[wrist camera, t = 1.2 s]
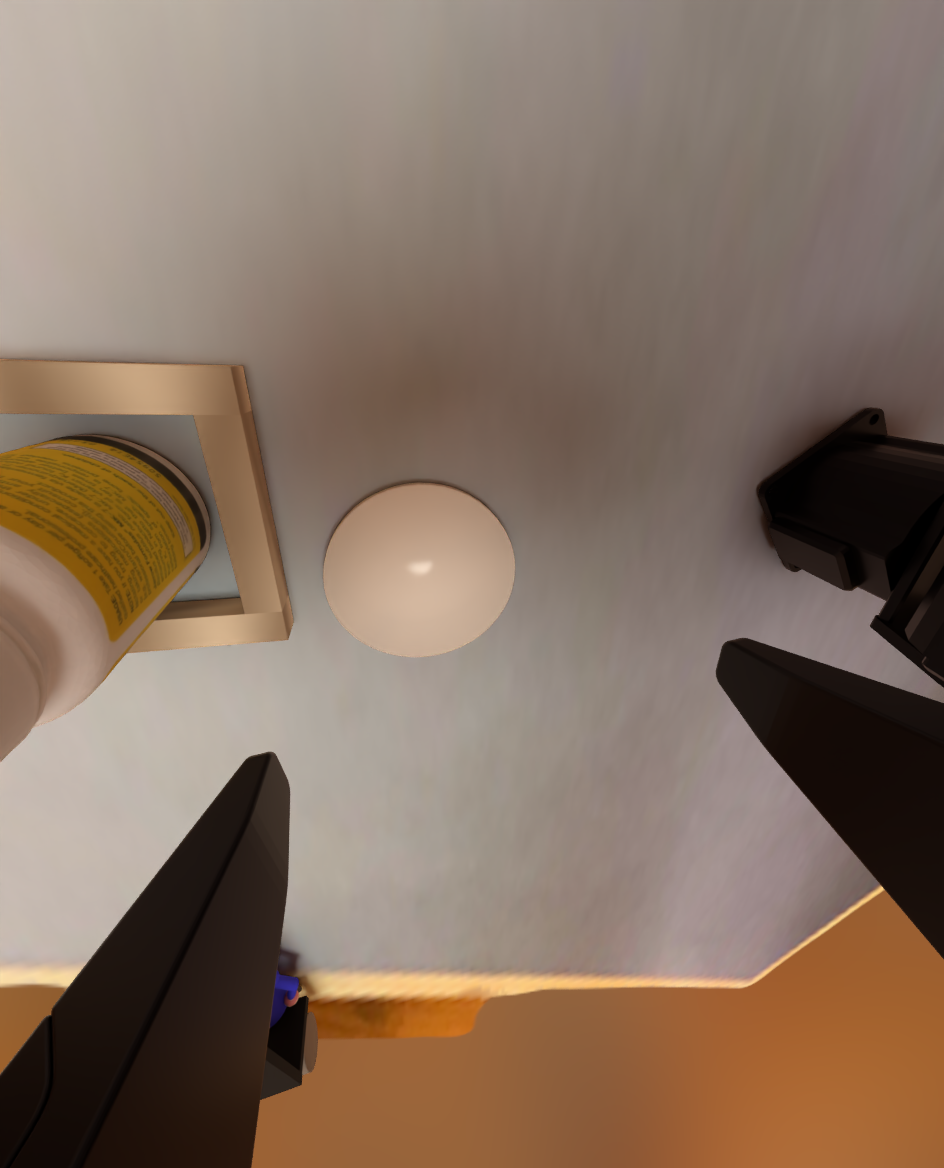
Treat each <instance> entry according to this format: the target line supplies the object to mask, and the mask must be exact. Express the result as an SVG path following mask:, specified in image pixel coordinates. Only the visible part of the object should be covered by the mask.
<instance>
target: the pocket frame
mask: <svg viewBox="0 0 944 1168" xmlns="http://www.w3.org/2000/svg"><path fill="white" fill-rule="evenodd" d="M0 413H11V414H146V415H193V416H194V420H195V424H196V428H197V432H198V436H199V440H200V443H201V447H202V451H203V455H204V459H205V463H206V466H207V470H208V474H209V478H210V482H211V486H212V490H213V493H214V497H215V501H216V505H217V509H218V513H219V516H220V520H221V524H222V528H223V532H224V536H225V540H226V543H227V547H228V551H229V555H230V559H231V563H232V566H233V570H234V574H235V578H236V582H237V586H238V590H239V593H240V597H241V598H231V599H216V600H200V601H185V602H170V603H169V604H168V605H167V606H166V607H165V609H164V610H163V611H162V612H161V613H160V615H159V616H158V617H157V618H156V619H155V620H154V622H153V623H152V624H151V625H150V626H149V628H148V629H147V630H146V631H145V632H144V633H143V634H142V636H141V637H140V638H139V639H138V640H137V641H136V643H135V644H134V645H133V646H132V647H131V648H130V650H129V651H128V652H127V653H136V652H148V651H160V650H172V649H184V648H196V647H208V646H220V645H232V644H244V643H257V642H269V641H281V640H288V638H289V635H290V632H291V629H292V626H293V623H294V621H293V616H292V610H291V605H290V600H289V595H288V590H287V585H286V580H285V575H284V570H283V565H282V560H281V555H280V550H279V545H278V540H277V535H276V530H275V525H274V520H273V515H272V510H271V505H270V500H269V495H268V490H267V485H266V480H265V475H264V470H263V465H262V460H261V455H260V449H259V444H258V439H257V434H256V429H255V424H254V419H253V414H252V409H251V404H250V399H249V394H248V389H247V384H246V379H245V374H244V369H243V366H233V365H196V364H158V363H121V362H84V361H47V360H10V359H0Z"/></svg>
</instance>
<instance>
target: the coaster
mask: <svg viewBox="0 0 944 1168" xmlns="http://www.w3.org/2000/svg"><path fill="white" fill-rule="evenodd" d="M514 577H515V559H514V553H513V549H512V546H511V542H510V540H509V537H508V535H507V533H506V531H505V529H504V528H503V527H502V525H501V524H500V522H499V521H498V519H497V518H496V516H495V515H494V514H493V513H492V512H491V511H490V510H489V509H488V508H487V507H486V506H485V505H484V504H482V503H481V502H480V501H479V500H477V499H476V498H474V497H473V496H471V495H469V494H468V493H465V492H463V491H461V490H459V489H456V488H453V487H450V486H446V485H442V484H435V483H408V484H401V485H397V486H393V487H389V488H387V489H384V490H382V491H379V492H377V493H375V494H373V495H371V496H370V497H368V498H366V499H365V500H363V501H362V502H360V503H359V504H358V505H356V506H355V507H354V508H353V509H352V510H351V511H350V512H349V513H348V514H347V515H346V516H345V517H344V519H343V520H342V521H341V522H340V524H339V525H338V527H337V528H336V530H335V532H334V534H333V536H332V538H331V540H330V543H329V546H328V549H327V552H326V557H325V562H324V570H323V580H324V589H325V593H326V597H327V600H328V603H329V605H330V607H331V610H332V611H333V613H334V615H335V616H336V618H337V620H338V621H339V622H340V623H341V624H342V626H343V627H344V628H345V629H346V630H347V631H348V632H349V633H350V634H351V635H352V636H354V637H355V638H357V639H358V640H359V641H361V642H362V643H364V644H366V645H368V646H370V647H371V648H374V649H376V650H379V651H381V652H384V653H388V654H392V655H397V656H404V657H427V656H433V655H439V654H443V653H446V652H450V651H452V650H455V649H457V648H460V647H462V646H464V645H466V644H468V643H470V642H471V641H473V640H474V639H476V638H477V637H479V636H480V635H481V634H482V633H484V632H485V631H486V630H487V629H488V628H489V627H490V626H491V625H492V624H493V623H494V622H495V621H496V619H497V618H498V617H499V615H500V614H501V613H502V611H503V609H504V607H505V606H506V604H507V602H508V599H509V597H510V594H511V591H512V588H513V584H514Z"/></svg>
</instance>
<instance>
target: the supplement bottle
mask: <svg viewBox="0 0 944 1168" xmlns="http://www.w3.org/2000/svg"><path fill="white" fill-rule="evenodd" d="M209 544H210V521H209V516H208V512H207V509H206V507H205V504H204V502H203V500H202V498H201V496H200V494H199V493H198V491H197V490H196V488H195V487H194V486H193V484H192V483H191V482H190V481H189V480H188V479H187V477H186V476H185V475H184V474H183V473H182V472H181V471H180V470H179V469H177V468H176V467H175V466H174V465H172V464H171V463H170V462H168V461H167V460H166V459H164V458H163V457H161V456H159V455H158V454H156V453H154V452H152V451H150V450H148V449H146V448H144V447H142V446H140V445H137V444H135V443H132V442H129V441H125V440H122V439H118V438H114V437H108V436H101V435H75V436H66V437H61V438H56V439H53V440H49V441H46V442H42V443H39V444H35V445H31V446H27V447H23V448H20V449H16V450H12V451H9V452H5V453H1V454H0V762H1V761H2V760H3V759H4V758H5V757H6V756H7V755H8V754H9V753H10V752H11V751H12V750H13V749H14V748H15V747H17V746H18V745H19V744H20V743H21V742H22V741H23V740H24V739H25V738H26V736H27V735H28V734H29V733H30V731H31V729H32V728H34V727H37V726H39V725H42V724H45V723H47V722H50V721H52V720H54V719H56V718H58V717H60V716H62V715H64V714H66V713H67V712H69V711H71V710H72V709H73V708H75V707H76V706H77V705H79V704H80V703H82V702H83V701H84V700H85V699H86V698H87V697H88V696H90V695H91V694H92V693H93V692H94V691H95V690H96V688H97V687H98V686H99V685H100V684H101V683H102V682H103V681H104V680H105V679H106V677H107V676H108V675H109V674H110V672H111V671H112V670H113V669H114V667H115V666H116V665H117V664H118V663H119V662H120V660H121V659H122V658H123V657H124V656H125V654H126V653H127V652H128V651H129V650H130V648H131V647H132V646H133V645H134V644H135V643H136V641H137V640H138V639H139V638H140V637H141V636H142V634H143V633H144V632H145V631H146V630H147V629H148V628H149V626H150V625H151V624H152V623H153V622H154V620H155V619H156V618H157V617H158V616H159V615H160V613H161V612H162V611H163V610H164V609H165V607H166V606H167V605H168V604H169V603H170V602H171V601H172V599H173V598H174V597H175V596H176V594H177V593H178V592H179V591H180V590H181V589H182V587H183V586H184V585H185V584H186V583H187V581H188V580H189V579H190V578H191V577H192V575H193V574H194V573H195V572H196V571H197V570H198V568H199V567H200V565H201V564H202V562H203V561H204V559H205V557H206V554H207V552H208V549H209Z"/></svg>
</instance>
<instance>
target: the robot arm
mask: <svg viewBox="0 0 944 1168" xmlns="http://www.w3.org/2000/svg"><path fill="white" fill-rule="evenodd" d="M771 489H772V490H771ZM770 490H771V492H770ZM769 492H770V493H769ZM758 493H759V498H760V500H761V503H762V506H763V508H764V511H765V514H766V517H767V519H768V522H769V523H768V529H769V531H770V534H771V537H772V539H773V542H774V545H775V548H776V550H777V553H778V556H779V557H780V558H781V559H782V560H783V563H784V566H785V567H786V569H788V570H790V571H792V572H798V571H799V570H801V569H803V570H805V571H806V572H808V573H810V574H812V575H814V576H816V577H818V578H820V579H822V580H824V581H826V582H828V583H830V584H832V585H834V586H836V587H838V588H840V589H842V590H846V591H852V590H854V589H855V588H857V587H859V588H861V589H863V590H865V591H867V592H869V593H871V594H873V595H875V596H877V597H879V598H881V599H883V600H885V601H886V603H885V605H884V606H883V608H882V610H881V612H880V613H879V615H876V616H875V617H874V619H873V621H872V623H871V624H870V627H871V628H872V629H874V630H875V631H876V632H877V633H878V634H880V635H881V636H882V637H883V638H884V639H886V640H887V641H888V642H889V643H890V644H891V645H893V646H894V647H895V648H896V649H898V650H899V651H900V652H901V653H902V654H904V655H905V656H906V657H907V658H908V659H910V660H911V661H912V662H913V663H914V664H916V665H917V666H918V667H919V668H920V669H922V670H923V671H924V672H925V673H926V674H928V675H929V676H930V677H931V678H932V679H934V680H935V681H936V682H937V683H938V684H940V685H941V686H942V687H944V445H943V444H937V443H930V442H924V441H918V440H912V439H905V438H899V437H893V436H887V430H886V424H885V418H884V412H883V410H882V409H879V408H867V409H865V410H864V411H862V412H861V413H860V414H858V415H857V416H856V417H854V418H853V419H851V420H850V421H849V422H847V423H846V424H844V425H843V426H842V427H840V428H839V429H838V430H836V431H835V432H833V433H832V434H831V435H829V436H828V437H827V438H825V439H824V440H822V441H821V442H820V443H818V444H817V445H815V446H814V447H813V448H811V449H810V450H809V451H807V452H806V453H804V454H803V455H802V456H800V457H799V458H798V459H796V460H795V461H793V462H792V463H791V464H789V465H788V466H786V467H785V468H784V469H782V470H781V471H780V472H778V473H777V474H775V475H774V476H773V477H771V478H770V479H769V480H767V481H766V482H764V483H763V484H762V486H761V487H760V489H759V492H758ZM716 677H717V680H718V682H719V684H720V685H721V687H722V688H723V690H724V691H725V692H726V694H727V695H728V697H729V698H730V700H731V701H732V702H733V704H734V705H735V707H736V708H737V709H738V711H739V712H740V714H741V715H742V717H743V718H744V719H745V721H746V722H747V724H748V725H749V726H750V728H751V729H752V731H753V732H754V734H755V735H756V736H757V738H758V739H759V740H760V742H761V743H762V744H763V746H764V747H765V748H766V750H767V751H768V752H769V753H770V754H771V756H772V757H773V758H774V759H775V760H776V762H777V763H778V764H779V765H780V766H781V768H782V769H783V770H784V771H785V772H786V773H787V775H788V776H789V777H790V778H791V779H792V781H793V782H794V783H795V784H796V785H797V786H798V788H799V789H800V790H801V791H802V792H803V794H804V795H805V796H806V797H807V798H808V799H809V801H810V802H811V803H812V804H813V805H814V807H815V808H816V809H817V810H818V811H819V812H820V814H821V815H822V816H823V817H824V818H825V820H826V821H827V822H828V823H829V824H830V825H831V827H832V828H833V829H834V830H835V831H836V833H837V834H838V835H839V836H840V837H841V838H842V840H843V841H844V842H845V843H846V844H847V846H848V847H849V848H850V849H851V850H852V851H853V853H854V854H855V855H856V856H857V857H858V859H859V860H860V861H861V862H862V863H863V864H864V866H865V867H866V868H867V869H868V870H869V872H870V873H871V874H872V875H873V876H874V877H875V879H876V880H877V881H878V882H879V883H880V885H881V886H882V887H883V888H884V889H885V890H886V892H887V893H888V894H889V895H890V896H891V898H892V899H893V900H894V901H895V902H896V903H897V905H898V906H899V907H900V908H901V909H902V911H903V912H904V913H905V914H906V915H907V916H908V918H909V919H910V920H911V921H912V922H913V924H914V925H915V926H916V927H917V928H918V929H919V930H920V932H921V933H922V934H923V935H924V937H925V938H926V939H927V940H928V941H929V942H930V943H931V945H932V946H933V947H934V948H935V950H936V951H937V952H938V953H939V954H940V955H941V957H942V958H943V959H944V703H941V702H938V701H935V700H932V699H929V698H926V697H923V696H920V695H917V694H914V693H911V692H908V691H905V690H902V689H899V688H896V687H893V686H890V685H887V684H884V683H881V682H878V681H875V680H872V679H869V678H866V677H863V676H860V675H857V674H854V673H851V672H848V671H845V670H842V669H838V668H835V667H832V666H829V665H826V664H823V663H820V662H817V661H814V660H811V659H808V658H805V657H802V656H799V655H796V654H793V653H790V652H787V651H784V650H781V649H778V648H775V647H772V646H769V645H766V644H763V643H760V642H757V641H754V640H751V639H748V638H739V639H735V640H730V641H727V642H725V643H724V644H723V646H722V649H721V653H720V657H719V660H718V664H717V668H716ZM289 821H290V787H289V782H288V779H287V777H286V775H285V773H284V771H283V768H282V766H281V764H280V762H279V760H278V758H277V756H276V754H275V753H274V752H266V753H262V754H258V755H253V756H250V757H248V758H247V759H246V760H245V761H244V762H243V763H242V765H241V766H240V767H239V769H238V770H237V771H236V772H235V774H234V775H233V776H232V778H231V779H230V780H229V781H228V783H227V784H226V785H225V787H224V788H223V789H222V790H221V792H220V793H219V794H218V796H217V797H216V798H215V799H214V801H213V802H212V803H211V805H210V806H209V807H208V808H207V810H206V811H205V812H204V814H203V815H202V816H201V817H200V819H199V820H198V821H197V823H196V824H195V825H194V826H193V828H192V829H191V830H190V832H189V833H188V834H187V835H186V837H185V838H184V839H183V841H182V842H181V843H180V844H179V846H178V847H177V848H176V850H175V851H174V852H173V853H172V855H171V856H170V857H169V859H168V860H167V861H166V862H165V864H164V865H163V866H162V868H161V869H160V870H159V871H158V873H157V874H156V875H155V876H154V878H153V879H152V880H151V882H150V883H149V884H148V885H147V887H146V888H145V889H144V891H143V892H142V893H141V894H140V896H139V897H138V898H137V900H136V901H135V902H134V903H133V905H132V906H131V907H130V909H129V910H128V911H127V912H126V914H125V915H124V916H123V918H122V919H121V920H120V921H119V923H118V924H117V925H116V927H115V928H114V929H113V930H112V932H111V933H110V934H109V936H108V937H107V938H106V939H105V941H104V942H103V943H102V945H101V946H100V947H99V948H98V950H97V951H96V952H95V954H94V955H93V956H92V957H91V959H90V960H89V961H88V963H87V964H86V965H85V966H84V968H83V969H82V970H81V972H80V973H79V974H78V975H77V977H76V978H75V979H74V981H73V982H72V983H71V984H70V986H69V987H68V988H67V990H66V991H65V992H64V993H63V995H62V996H61V997H60V999H59V1000H58V1001H57V1002H56V1004H55V1005H54V1006H53V1008H52V1011H51V1015H48V1016H46V1017H45V1018H44V1019H43V1020H42V1021H41V1023H40V1024H39V1025H38V1026H37V1028H36V1029H35V1030H34V1032H33V1033H32V1034H31V1035H30V1037H29V1038H28V1039H27V1041H26V1042H25V1043H24V1044H23V1046H22V1047H21V1048H20V1050H19V1051H18V1052H17V1053H16V1055H15V1056H14V1057H13V1059H12V1060H11V1061H10V1062H9V1064H8V1065H7V1066H6V1067H5V1069H4V1070H3V1071H2V1072H1V1074H0V1168H251V1165H252V1158H253V1149H254V1142H255V1135H256V1127H257V1119H258V1112H259V1104H260V1096H261V1089H262V1081H263V1073H264V1066H265V1058H266V1051H267V1043H268V1035H269V1028H270V1020H271V1012H272V1005H273V997H274V989H275V982H276V974H277V966H278V959H279V951H280V944H281V936H282V928H283V921H284V913H285V905H286V897H287V887H288V864H289Z"/></svg>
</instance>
